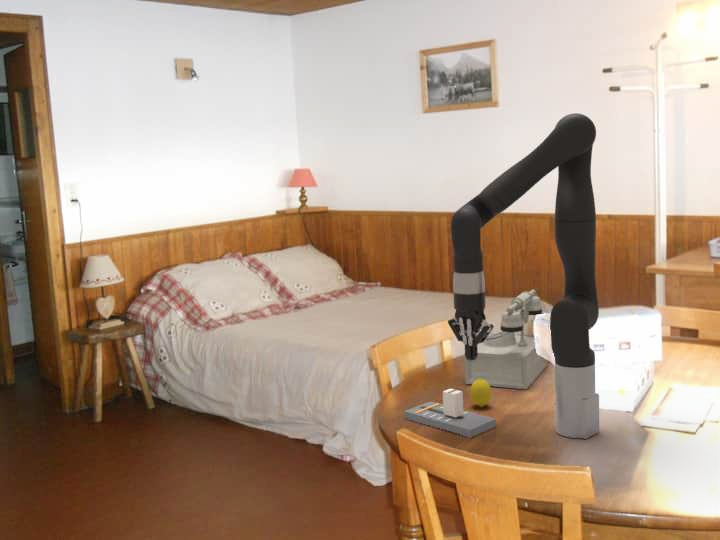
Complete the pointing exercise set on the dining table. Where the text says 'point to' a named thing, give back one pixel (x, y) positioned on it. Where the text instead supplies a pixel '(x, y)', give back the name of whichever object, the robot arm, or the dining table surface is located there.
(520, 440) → the dining table surface
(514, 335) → the pale grey angular base
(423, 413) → the console board
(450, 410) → the fader tab
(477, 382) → the lemon
